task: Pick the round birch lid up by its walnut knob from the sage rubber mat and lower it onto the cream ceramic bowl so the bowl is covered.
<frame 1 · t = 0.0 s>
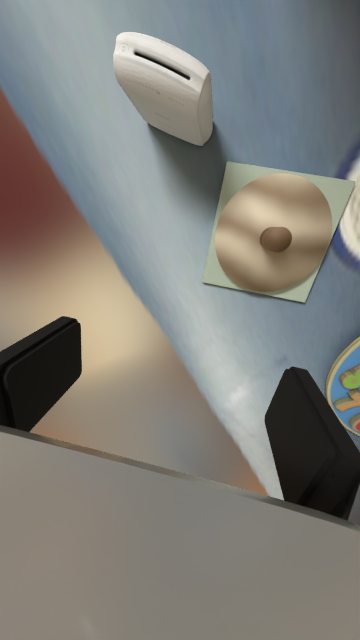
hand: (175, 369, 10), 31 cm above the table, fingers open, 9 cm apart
photo printer: (178, 121, 32), on the table
lid: (269, 238, 35), point 1 cm above the table, touching mat
mat: (268, 237, 35), on the table
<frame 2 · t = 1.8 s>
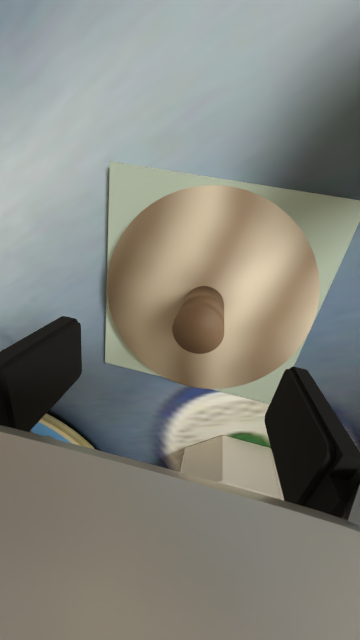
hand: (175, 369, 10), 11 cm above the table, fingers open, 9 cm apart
bowl: (231, 476, 28), on the table
lid: (205, 301, 19), point 1 cm above the table, touching mat
shape sorting clock: (47, 465, 35), on the table
mat: (205, 299, 19), on the table
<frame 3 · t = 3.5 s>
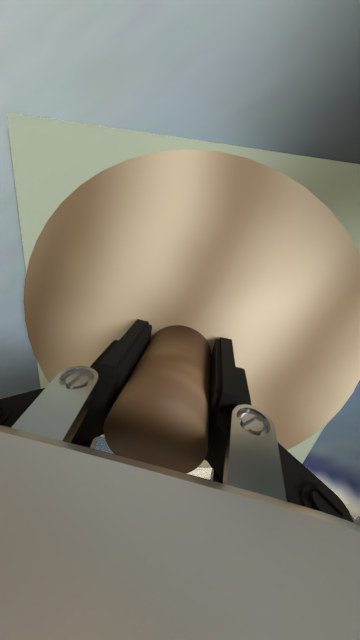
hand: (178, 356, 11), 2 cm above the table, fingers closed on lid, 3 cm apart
lid: (182, 344, 12), point 1 cm above the table, touching gripper, mat
mat: (183, 339, 13), on the table
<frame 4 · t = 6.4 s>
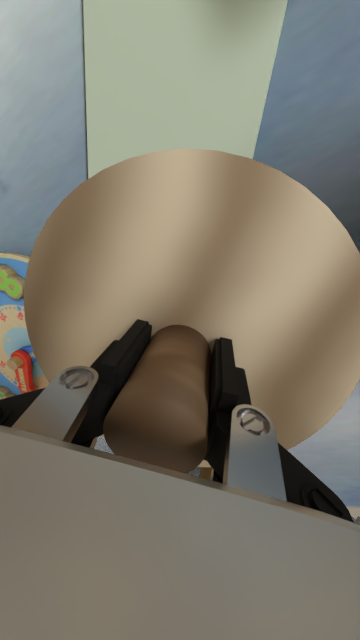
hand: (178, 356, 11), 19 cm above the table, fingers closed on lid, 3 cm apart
lid: (182, 344, 12), point 18 cm above the table, touching gripper
shape sorting clock: (42, 344, 38), on the table
mat: (172, 103, 22), on the table
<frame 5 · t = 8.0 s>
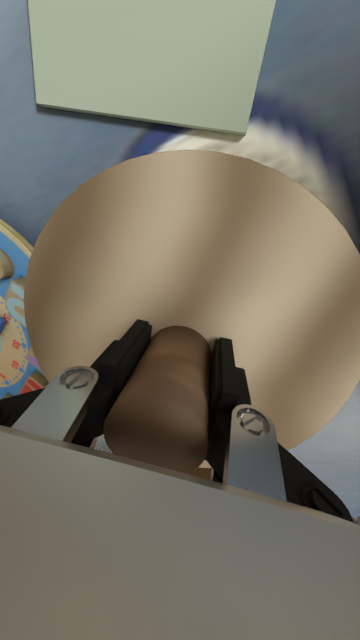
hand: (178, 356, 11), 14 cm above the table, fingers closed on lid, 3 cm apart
lid: (182, 344, 12), point 13 cm above the table, touching gripper
when the fingers open (8 cm above the table, at t = 9.3 s): lid drops 1 cm, resting on bowl.
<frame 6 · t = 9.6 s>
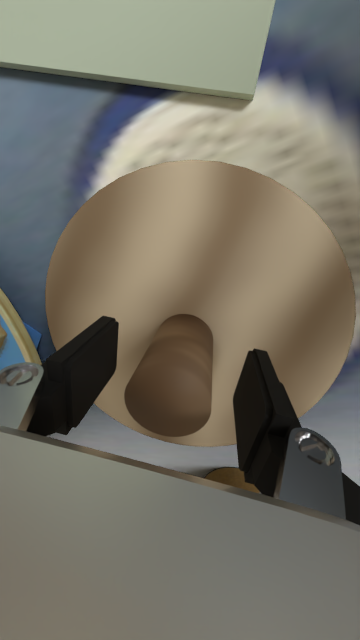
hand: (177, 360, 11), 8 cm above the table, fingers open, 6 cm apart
lid: (186, 332, 13), point 5 cm above the table, touching bowl
plant pot: (235, 485, 26), on the table
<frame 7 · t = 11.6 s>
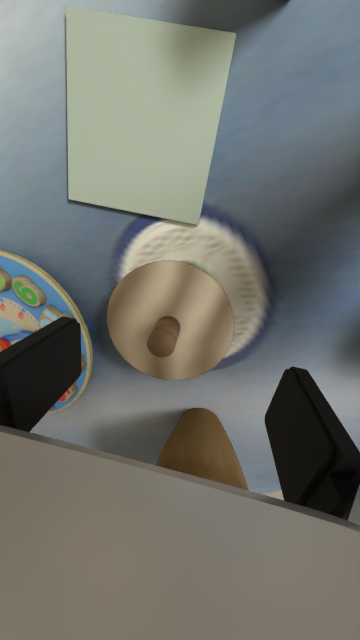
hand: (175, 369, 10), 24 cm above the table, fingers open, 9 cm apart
lid: (169, 324, 30), point 5 cm above the table, touching bowl
plant pot: (201, 421, 43), on the table
shape sorting clock: (22, 334, 41), on the table
mat: (141, 130, 27), on the table
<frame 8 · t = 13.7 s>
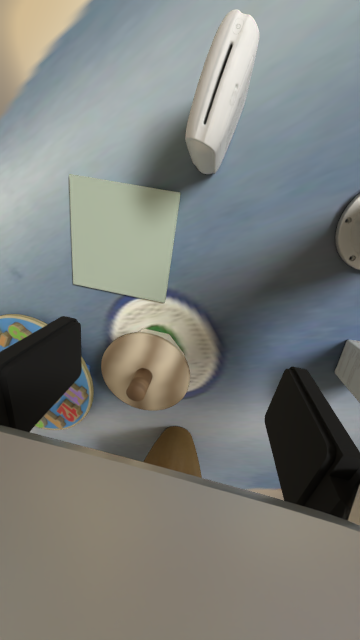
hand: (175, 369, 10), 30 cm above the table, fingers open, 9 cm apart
photo printer: (218, 133, 31), on the table
lid: (145, 372, 42), point 5 cm above the table, touching bowl
plant pot: (178, 435, 55), on the table
shape sorting clock: (41, 369, 54), on the table
mat: (121, 243, 38), on the table
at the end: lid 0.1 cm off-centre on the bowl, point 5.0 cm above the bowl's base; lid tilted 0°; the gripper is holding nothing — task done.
